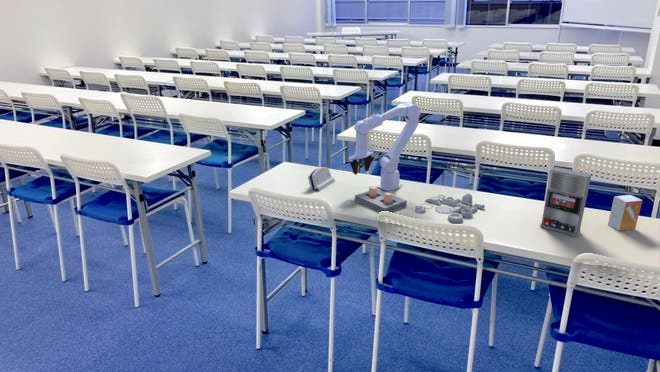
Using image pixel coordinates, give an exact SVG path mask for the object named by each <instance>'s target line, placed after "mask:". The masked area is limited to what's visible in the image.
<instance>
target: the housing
mask: <svg viewBox="0 0 660 372" xmlns="http://www.w3.org/2000/svg"><path fill="white" fill-rule="evenodd" d="M384 193H387V191H386V192H385V190H384V191H383V190H382V189H380V188H379V189H378V188H377V197H375V198H371V197H369V190H367V191H365V192H364V191H363V192H361V193H357V194H356V195H354V201H356V202H358V203H360V204H362V205H364V206H367V207H369V208H372V209H374V210H376V211H378V212H380V211H390V212H392V211H396V210H399V209H401V208H404V207H406V206H407V200H406V199H404V198H401V197H398V196H396V195H394V194H393V201H392V204H389V205H388V204H385V203H384Z"/></svg>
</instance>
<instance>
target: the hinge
mask: <svg viewBox="0 0 660 372" xmlns="http://www.w3.org/2000/svg"><path fill="white" fill-rule="evenodd" d="M307 179H308V182H309V183H308V184H309V187H310V190H312V191H313V190H318V192H321V191H322V190H324V189H326V188H327V187H328V186H331V185H332V184H333V183H335V182H336V181H335V178H334V177H332V174H331V172H330V169H329V168H328V167H325V166H323V167H318V168H317V167H316V168H315V169H314V170H312V171H311V172H310V173H309V175H308V177H307Z"/></svg>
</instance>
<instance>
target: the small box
mask: <svg viewBox="0 0 660 372" xmlns="http://www.w3.org/2000/svg"><path fill="white" fill-rule="evenodd" d="M613 197H614V198H613V201H612V206H611V209H610V214H609V219H608V223H607V225H608V226H609V227H611V228H612V229H614V228H615V229H614V230H617V231H619V232H620V231H621V232H622V231H628V230H630V229H631V230H635V229H636V228H637V227H636V226H637V223H638V219H639V216H640V211H641V208H642V203H643V200H642V199H640V198H639V197H636V196H634V195H633V194H625V195H617V196H613Z"/></svg>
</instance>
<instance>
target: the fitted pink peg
mask: <svg viewBox="0 0 660 372" xmlns="http://www.w3.org/2000/svg"><path fill="white" fill-rule="evenodd" d="M393 195H394V194H393V192H386V193H384V203H385V204H388V205H389V204H392V201H393Z"/></svg>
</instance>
